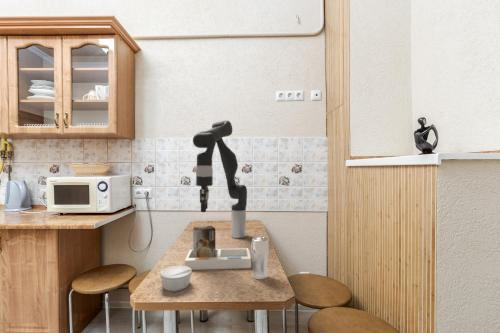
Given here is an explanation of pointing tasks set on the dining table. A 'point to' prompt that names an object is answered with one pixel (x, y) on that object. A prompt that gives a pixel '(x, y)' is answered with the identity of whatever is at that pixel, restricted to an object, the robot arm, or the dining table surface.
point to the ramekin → (176, 277)
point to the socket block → (220, 260)
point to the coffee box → (204, 241)
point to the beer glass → (260, 257)
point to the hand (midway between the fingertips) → (204, 210)
